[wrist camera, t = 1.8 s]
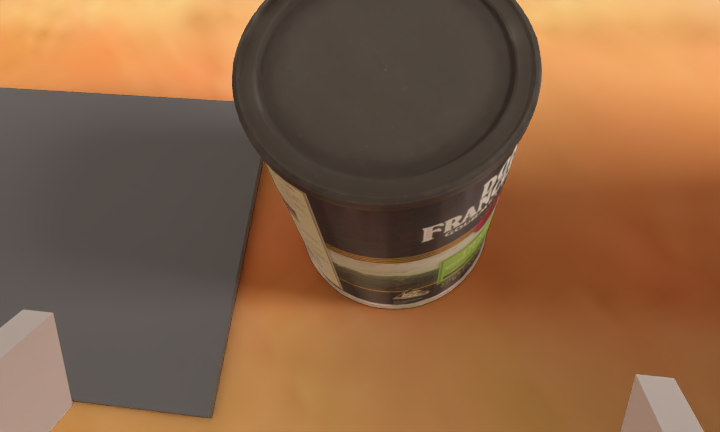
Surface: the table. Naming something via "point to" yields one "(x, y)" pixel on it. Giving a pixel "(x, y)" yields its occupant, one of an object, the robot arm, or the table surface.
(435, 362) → the table surface
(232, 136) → the rubber mat
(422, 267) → the coffee can
